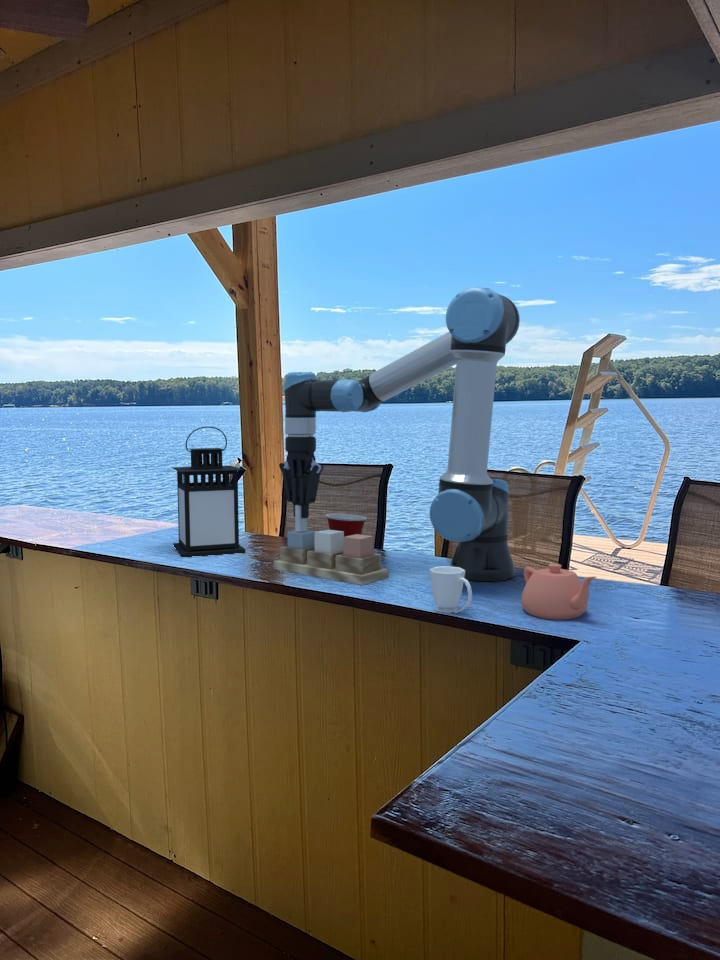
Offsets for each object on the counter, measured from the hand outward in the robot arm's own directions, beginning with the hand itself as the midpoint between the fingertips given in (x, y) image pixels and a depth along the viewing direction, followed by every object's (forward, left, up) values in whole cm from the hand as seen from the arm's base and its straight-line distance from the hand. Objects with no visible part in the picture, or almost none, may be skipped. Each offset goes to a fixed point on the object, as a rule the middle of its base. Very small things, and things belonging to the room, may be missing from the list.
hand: (301, 530), depth 183 cm
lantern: (+38, -2, -10) cm, 39 cm away
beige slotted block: (-9, 0, -9) cm, 13 cm away
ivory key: (-9, 0, -5) cm, 11 cm away
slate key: (0, 0, -6) cm, 6 cm away
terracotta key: (-18, 0, -6) cm, 19 cm away
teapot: (-67, 0, -10) cm, 68 cm away
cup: (-51, +11, -10) cm, 53 cm away
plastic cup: (-2, -15, -10) cm, 18 cm away
